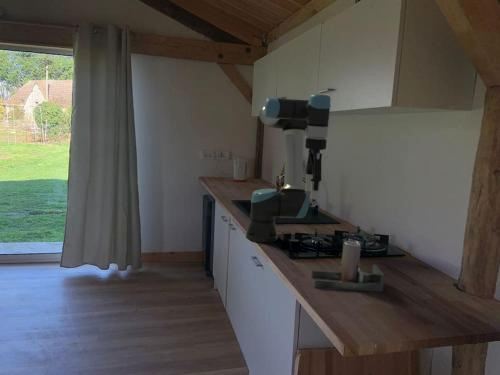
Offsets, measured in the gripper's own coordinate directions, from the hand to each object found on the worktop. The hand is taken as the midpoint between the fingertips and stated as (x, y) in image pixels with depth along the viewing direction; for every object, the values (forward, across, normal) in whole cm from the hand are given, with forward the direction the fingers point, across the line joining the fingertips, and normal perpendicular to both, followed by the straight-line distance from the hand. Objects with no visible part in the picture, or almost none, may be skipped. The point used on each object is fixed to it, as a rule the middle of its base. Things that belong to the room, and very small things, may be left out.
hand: (311, 194), depth 151 cm
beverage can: (+28, +15, +13) cm, 35 cm away
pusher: (+28, +15, +18) cm, 36 cm away
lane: (+28, +15, +12) cm, 34 cm away
